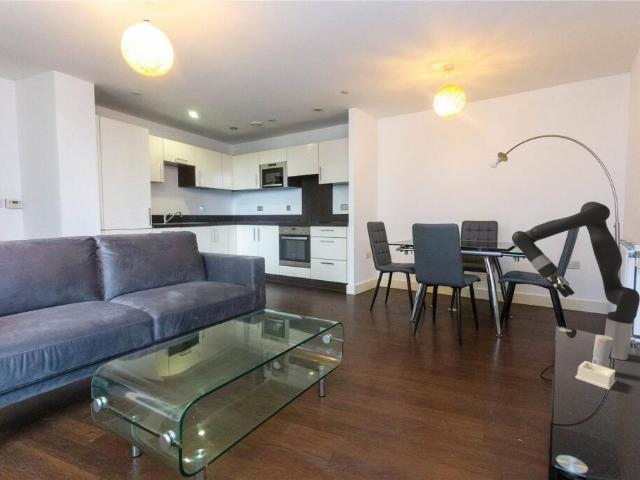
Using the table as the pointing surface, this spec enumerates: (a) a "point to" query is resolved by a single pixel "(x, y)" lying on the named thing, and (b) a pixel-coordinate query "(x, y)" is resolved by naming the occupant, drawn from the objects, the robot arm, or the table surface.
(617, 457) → the table surface
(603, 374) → the can holder
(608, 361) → the beverage can
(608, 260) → the robot arm
